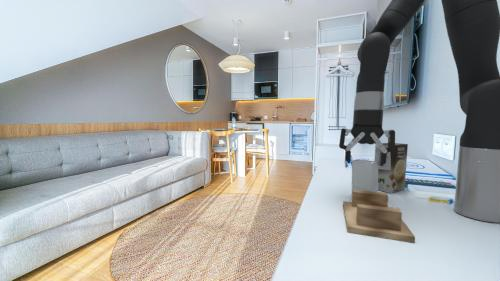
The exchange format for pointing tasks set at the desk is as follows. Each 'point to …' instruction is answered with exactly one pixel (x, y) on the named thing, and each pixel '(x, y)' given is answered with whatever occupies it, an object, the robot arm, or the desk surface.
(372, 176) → the skincare box
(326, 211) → the desk surface
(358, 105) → the robot arm
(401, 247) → the desk surface
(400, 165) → the coffee box
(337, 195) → the desk surface
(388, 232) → the oak cradle board
